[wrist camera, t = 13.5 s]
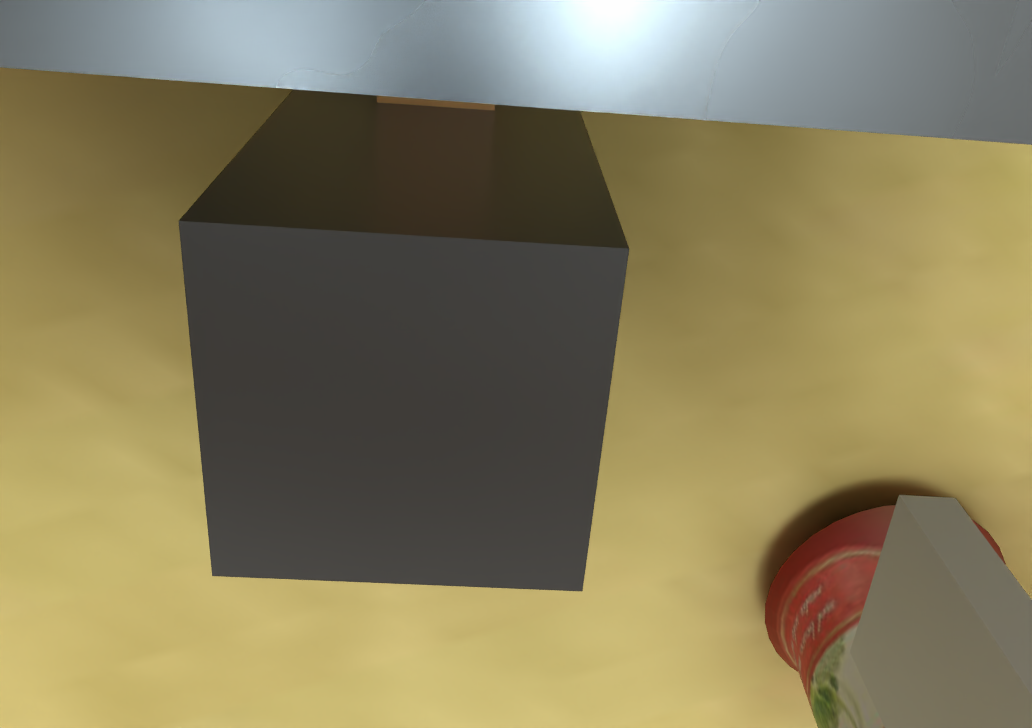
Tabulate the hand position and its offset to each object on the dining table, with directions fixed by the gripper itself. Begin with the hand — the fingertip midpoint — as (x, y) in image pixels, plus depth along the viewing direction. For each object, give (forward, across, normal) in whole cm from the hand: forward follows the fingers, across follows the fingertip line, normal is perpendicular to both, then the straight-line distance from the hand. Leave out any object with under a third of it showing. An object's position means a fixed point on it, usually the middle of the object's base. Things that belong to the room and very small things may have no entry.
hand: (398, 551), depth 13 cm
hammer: (+12, 0, +8) cm, 14 cm away
